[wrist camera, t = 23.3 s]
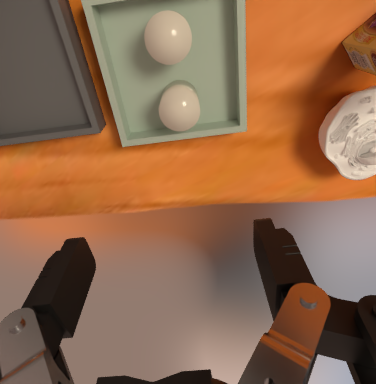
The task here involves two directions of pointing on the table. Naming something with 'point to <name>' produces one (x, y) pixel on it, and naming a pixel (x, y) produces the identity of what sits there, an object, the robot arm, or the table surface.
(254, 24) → the table surface
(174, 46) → the pebble
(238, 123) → the shallow green tray
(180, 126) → the pebble
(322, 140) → the cell model
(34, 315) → the robot arm
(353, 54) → the candy box
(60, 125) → the parts tray
